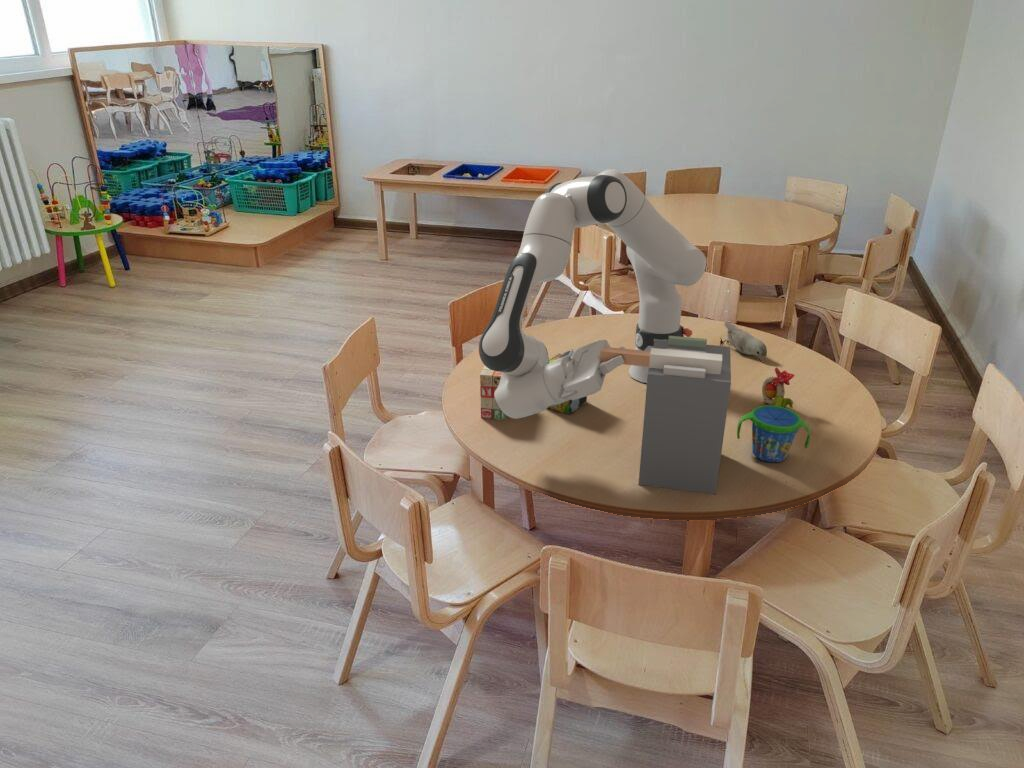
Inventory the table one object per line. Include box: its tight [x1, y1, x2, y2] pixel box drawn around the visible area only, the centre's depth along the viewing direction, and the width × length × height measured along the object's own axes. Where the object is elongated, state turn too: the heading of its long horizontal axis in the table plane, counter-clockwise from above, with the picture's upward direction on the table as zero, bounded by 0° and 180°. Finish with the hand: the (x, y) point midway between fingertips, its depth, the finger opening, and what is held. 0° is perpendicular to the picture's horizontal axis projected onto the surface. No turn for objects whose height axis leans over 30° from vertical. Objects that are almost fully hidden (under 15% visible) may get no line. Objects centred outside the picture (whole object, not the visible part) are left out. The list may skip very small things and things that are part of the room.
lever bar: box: [600, 346, 722, 375], centre depth 156 cm, size 24×3×3 cm, turn 76°
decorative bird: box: [719, 321, 768, 362], centre depth 226 cm, size 5×16×8 cm, turn 33°
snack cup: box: [736, 404, 811, 463], centre depth 173 cm, size 16×10×10 cm
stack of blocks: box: [479, 365, 508, 421], centre depth 197 cm, size 21×6×12 cm, turn 170°
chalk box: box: [547, 353, 588, 416], centre depth 195 cm, size 9×9×15 cm
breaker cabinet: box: [638, 336, 732, 496], centre depth 164 cm, size 16×18×28 cm
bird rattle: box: [761, 366, 795, 409], centre depth 194 cm, size 6×11×9 cm
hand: (624, 354), depth 157 cm, fingers closed on lever bar, 2 cm apart
